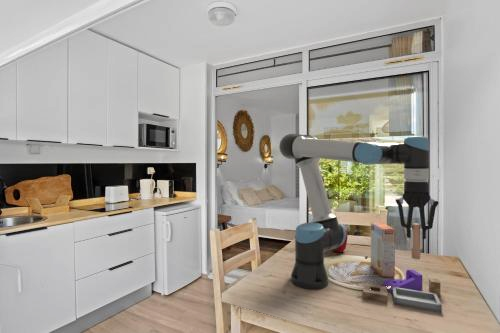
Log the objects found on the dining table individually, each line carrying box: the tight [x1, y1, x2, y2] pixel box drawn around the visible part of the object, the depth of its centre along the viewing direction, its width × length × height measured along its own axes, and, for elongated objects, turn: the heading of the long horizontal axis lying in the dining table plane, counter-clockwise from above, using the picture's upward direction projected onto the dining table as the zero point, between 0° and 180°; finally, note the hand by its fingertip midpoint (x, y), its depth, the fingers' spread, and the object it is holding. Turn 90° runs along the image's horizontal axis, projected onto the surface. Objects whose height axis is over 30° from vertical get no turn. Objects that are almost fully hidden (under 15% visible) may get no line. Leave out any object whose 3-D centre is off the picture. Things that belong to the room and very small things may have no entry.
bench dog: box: [428, 277, 441, 297], centre depth 107 cm, size 3×4×5 cm
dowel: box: [411, 222, 421, 260], centre depth 100 cm, size 3×3×12 cm
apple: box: [331, 229, 349, 253], centre depth 157 cm, size 11×10×14 cm
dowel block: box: [362, 282, 389, 304], centre depth 105 cm, size 8×8×2 cm
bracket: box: [381, 269, 423, 294], centre depth 111 cm, size 12×7×7 cm, turn 94°
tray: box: [391, 287, 443, 313], centre depth 100 cm, size 14×9×2 cm, turn 66°
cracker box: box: [370, 222, 396, 278], centre depth 128 cm, size 14×6×21 cm, turn 175°
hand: (415, 247), depth 100 cm, fingers closed on dowel, 2 cm apart
